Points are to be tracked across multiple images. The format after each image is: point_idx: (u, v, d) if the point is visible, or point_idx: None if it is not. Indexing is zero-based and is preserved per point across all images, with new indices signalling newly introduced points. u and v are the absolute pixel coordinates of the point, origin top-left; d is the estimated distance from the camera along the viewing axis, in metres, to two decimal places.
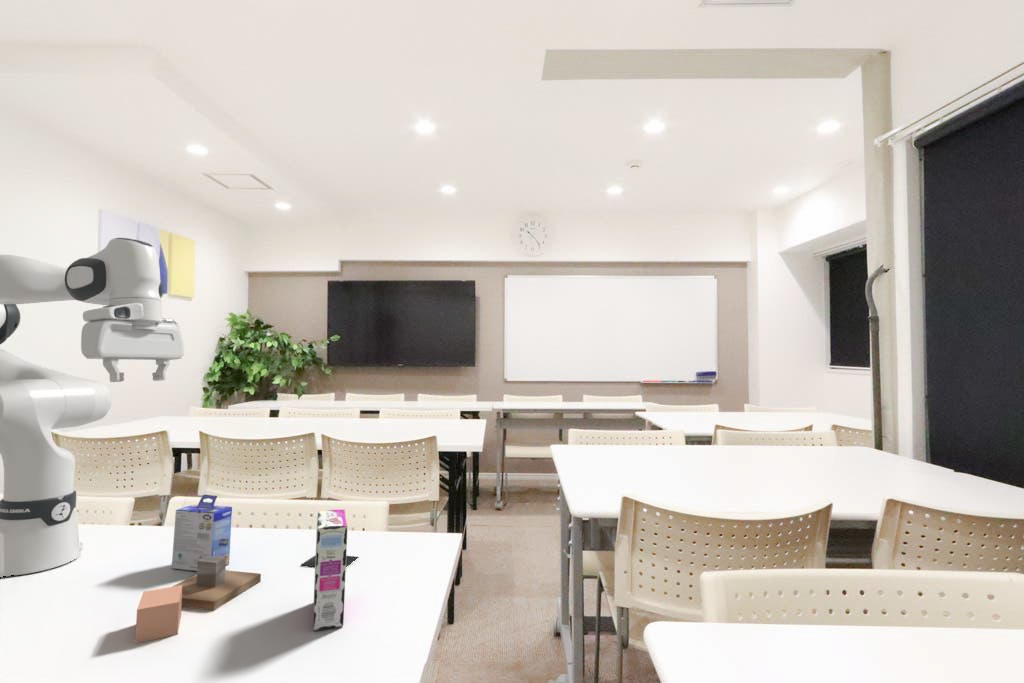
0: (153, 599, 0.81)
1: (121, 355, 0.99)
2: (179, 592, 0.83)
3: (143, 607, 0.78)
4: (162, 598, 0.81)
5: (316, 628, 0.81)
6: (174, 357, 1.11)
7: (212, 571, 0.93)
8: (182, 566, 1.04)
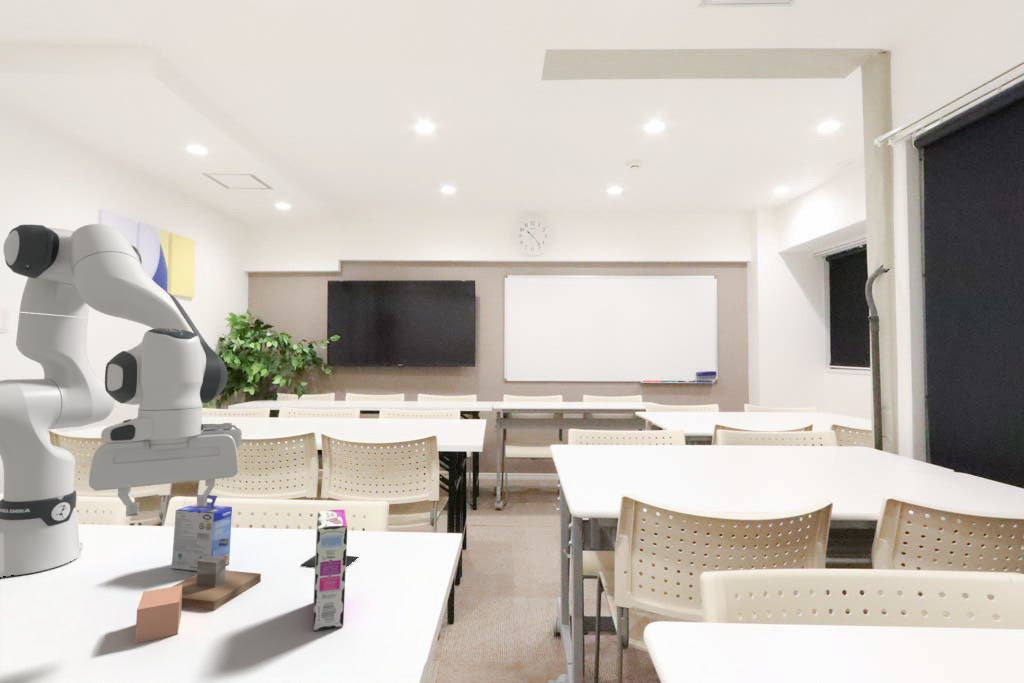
0: (153, 599, 0.81)
1: (128, 485, 0.79)
2: (179, 592, 0.83)
3: (143, 607, 0.78)
4: (162, 598, 0.81)
5: (316, 628, 0.81)
6: (219, 477, 0.85)
7: (212, 571, 0.93)
8: (182, 566, 1.04)
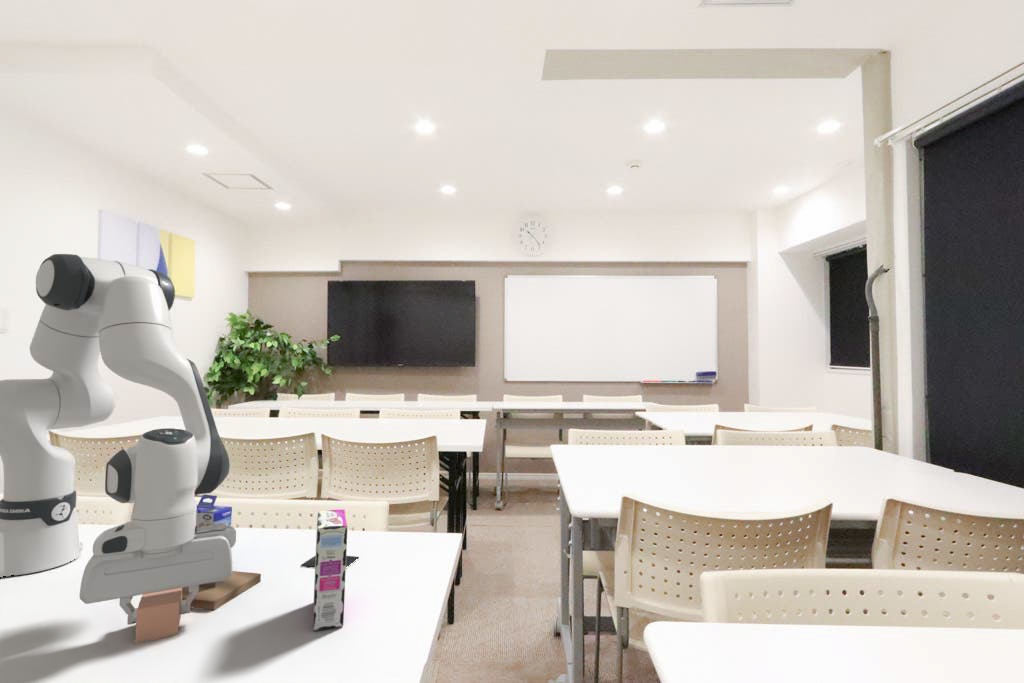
0: (153, 599, 0.81)
1: (120, 596, 0.78)
2: (179, 592, 0.83)
3: (143, 607, 0.78)
4: (162, 598, 0.81)
5: (316, 628, 0.81)
6: (213, 581, 0.84)
7: None
8: None
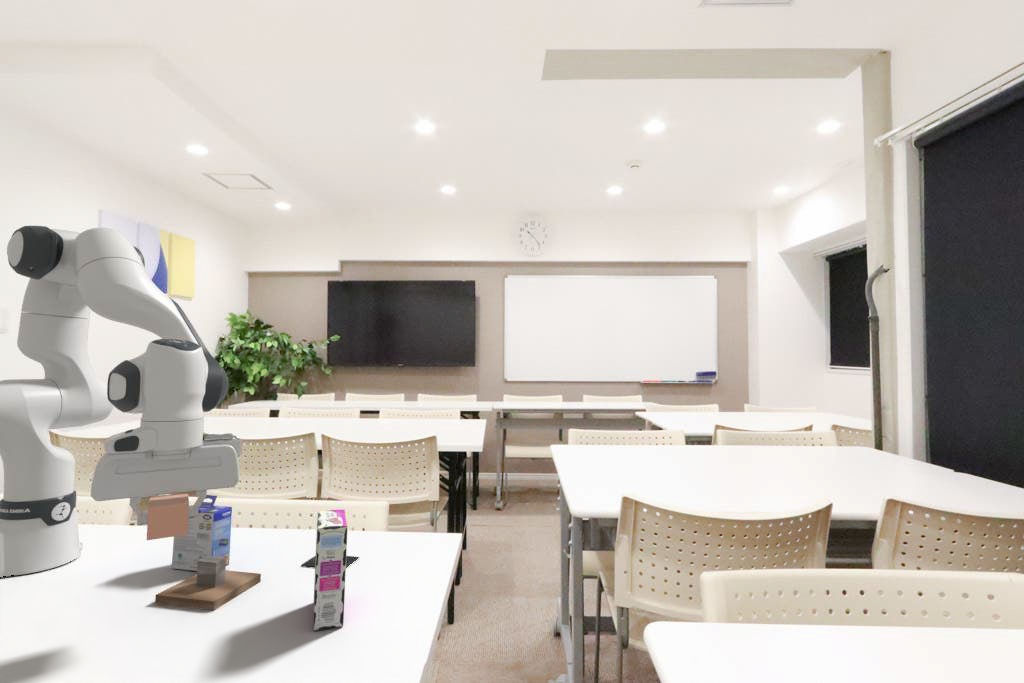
0: (162, 502, 0.82)
1: (130, 495, 0.79)
2: (187, 498, 0.85)
3: (154, 506, 0.80)
4: (171, 501, 0.83)
5: (316, 628, 0.81)
6: (220, 487, 0.86)
7: (212, 571, 0.93)
8: (182, 566, 1.04)
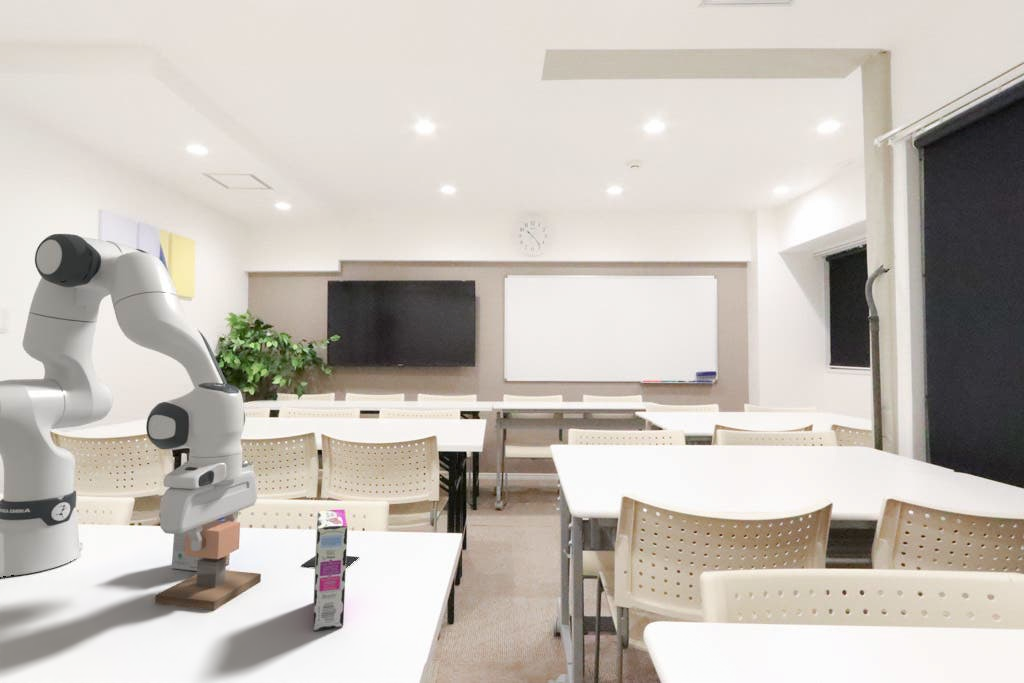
0: (212, 527, 0.94)
1: (200, 524, 0.90)
2: (221, 521, 0.98)
3: (220, 529, 0.93)
4: (218, 525, 0.95)
5: (316, 628, 0.81)
6: (248, 506, 1.02)
7: (212, 571, 0.93)
8: (182, 566, 1.04)
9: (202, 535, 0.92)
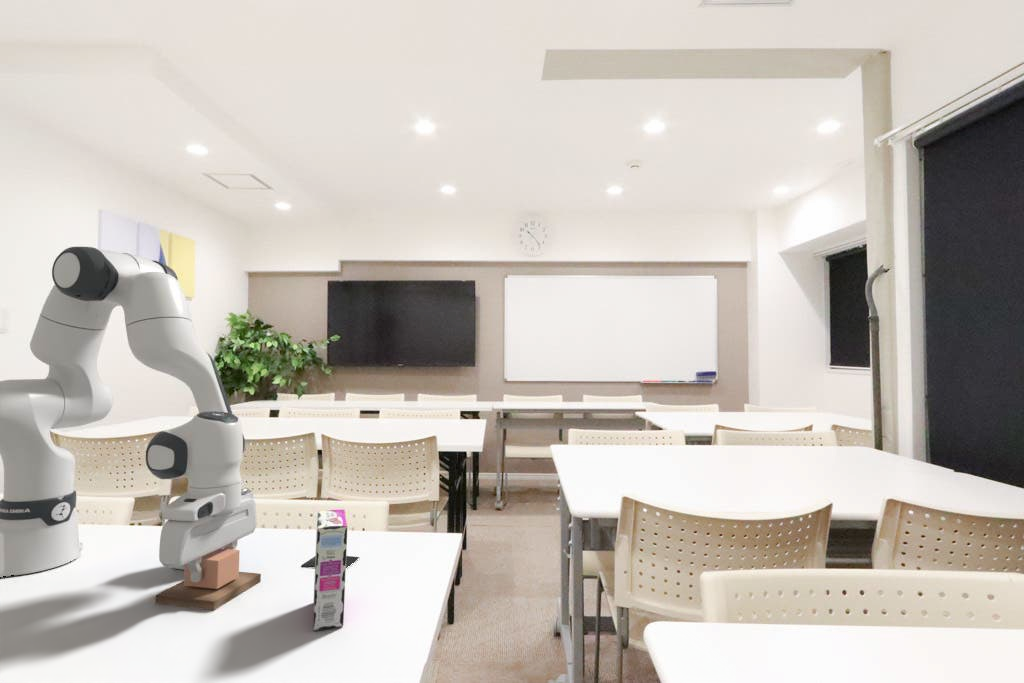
0: (211, 556, 0.94)
1: (199, 556, 0.90)
2: (220, 549, 0.97)
3: (219, 559, 0.92)
4: (218, 553, 0.95)
5: (316, 628, 0.81)
6: (247, 534, 1.02)
7: None
8: (182, 566, 1.04)
9: (201, 564, 0.92)
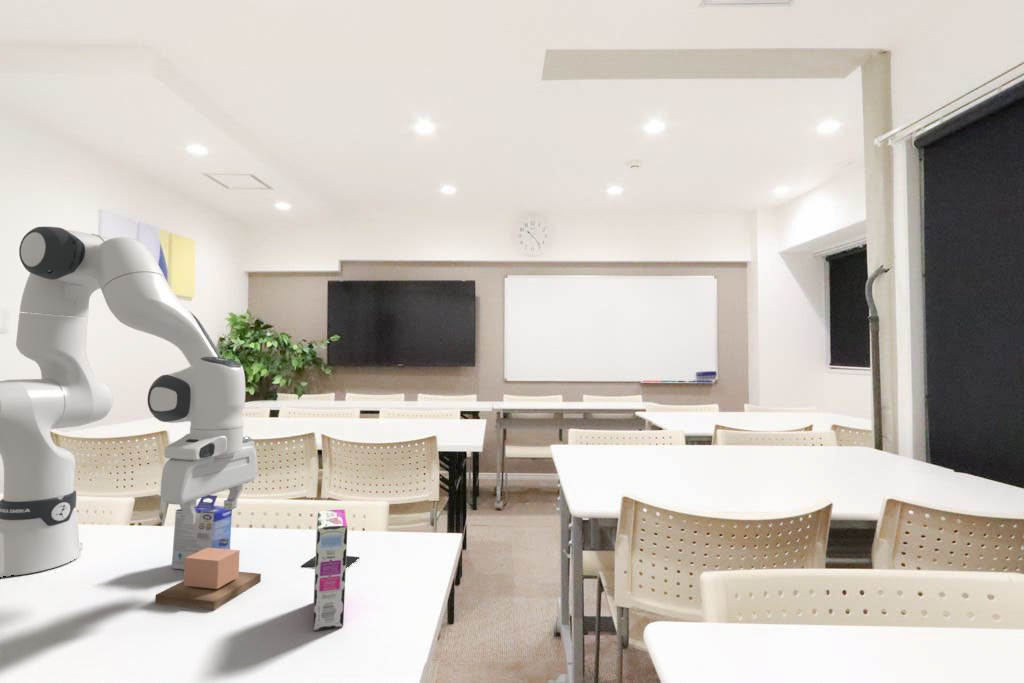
0: (211, 556, 0.94)
1: (200, 496, 0.90)
2: (220, 549, 0.97)
3: (219, 559, 0.92)
4: (218, 553, 0.95)
5: (316, 628, 0.81)
6: (247, 481, 1.02)
7: None
8: (182, 566, 1.04)
9: (201, 564, 0.92)
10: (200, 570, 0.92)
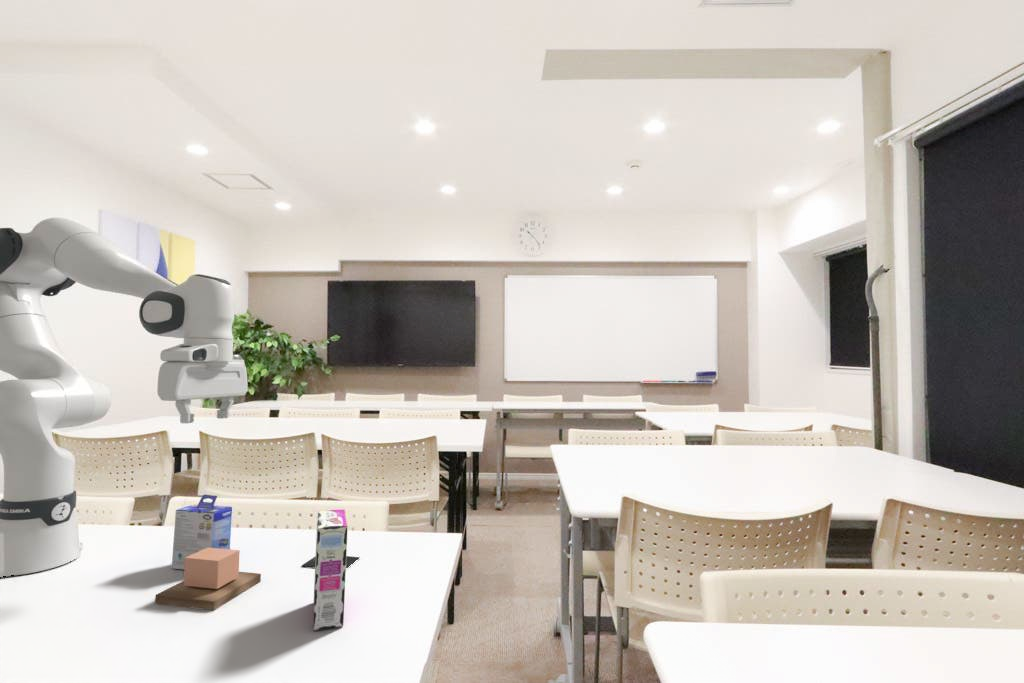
0: (211, 556, 0.94)
1: (194, 397, 0.98)
2: (220, 549, 0.97)
3: (219, 559, 0.92)
4: (218, 553, 0.95)
5: (316, 628, 0.81)
6: (238, 395, 1.10)
7: None
8: (182, 566, 1.04)
9: (201, 564, 0.92)
10: (200, 570, 0.92)
